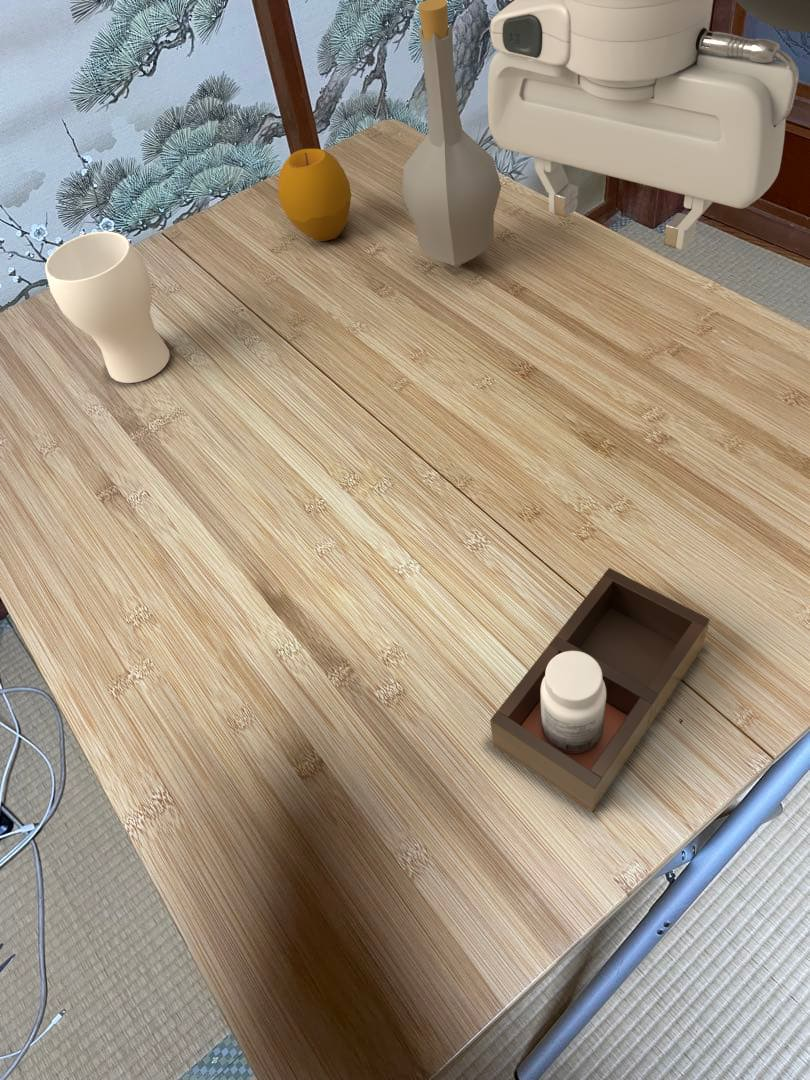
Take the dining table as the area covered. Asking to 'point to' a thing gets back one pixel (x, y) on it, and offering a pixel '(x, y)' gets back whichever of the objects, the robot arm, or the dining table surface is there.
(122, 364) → the cup
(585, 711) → the pill bottle
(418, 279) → the dining table surface
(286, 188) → the orange candle
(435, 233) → the bottle
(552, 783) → the holder
